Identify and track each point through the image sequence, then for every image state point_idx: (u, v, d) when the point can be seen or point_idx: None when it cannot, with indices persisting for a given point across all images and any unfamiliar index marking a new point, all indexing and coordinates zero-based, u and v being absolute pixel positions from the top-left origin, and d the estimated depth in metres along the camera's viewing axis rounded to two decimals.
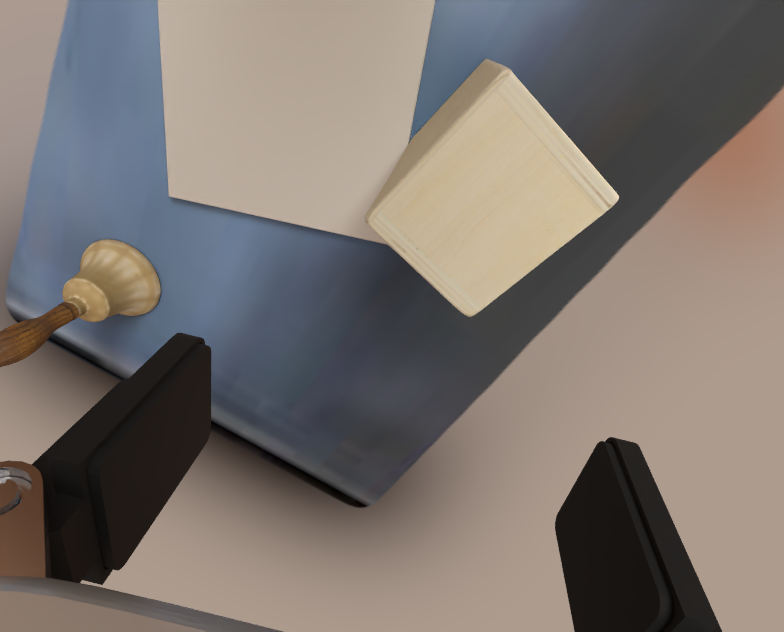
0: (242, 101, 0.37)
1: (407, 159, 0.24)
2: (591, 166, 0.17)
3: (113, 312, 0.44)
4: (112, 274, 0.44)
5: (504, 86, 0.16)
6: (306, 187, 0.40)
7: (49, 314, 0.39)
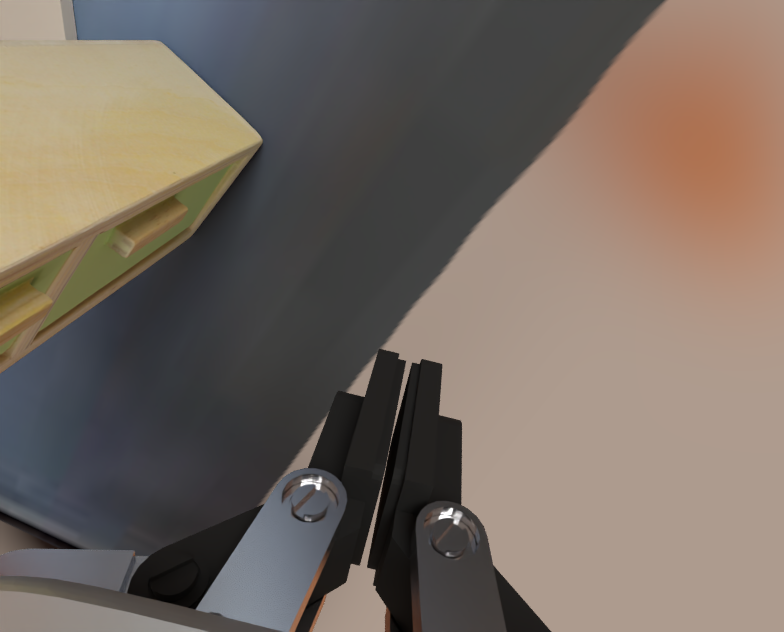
0: None
1: None
2: None
3: None
4: None
5: None
6: None
7: None
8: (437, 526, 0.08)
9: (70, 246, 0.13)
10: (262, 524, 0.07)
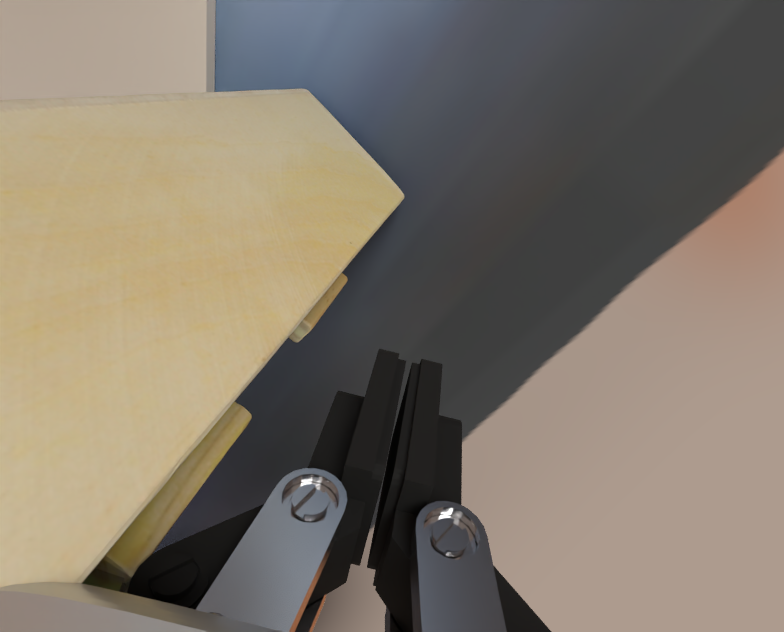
0: None
1: None
2: None
3: None
4: None
5: None
6: None
7: None
8: (437, 526, 0.08)
9: None
10: (262, 524, 0.07)
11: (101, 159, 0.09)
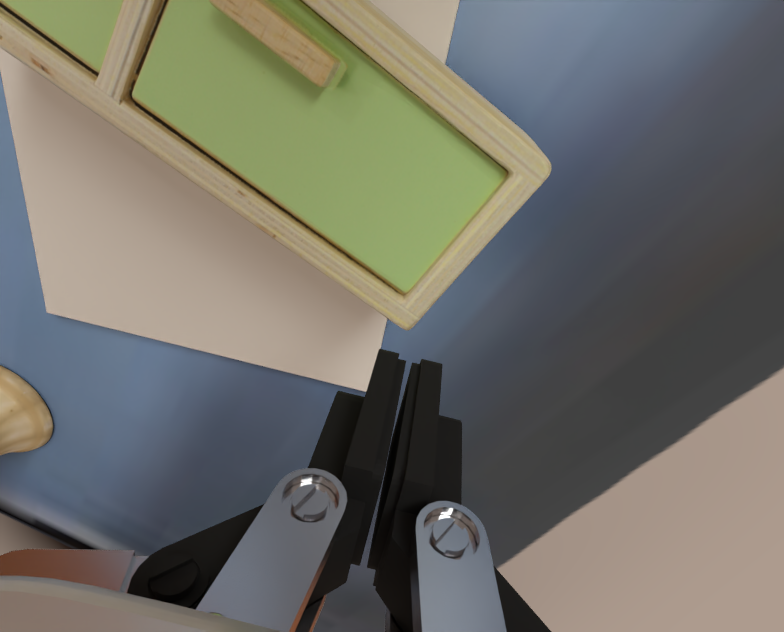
0: (142, 190, 0.24)
1: None
2: None
3: None
4: None
5: None
6: (246, 313, 0.26)
7: None
8: (437, 526, 0.08)
9: None
10: (262, 524, 0.07)
11: None
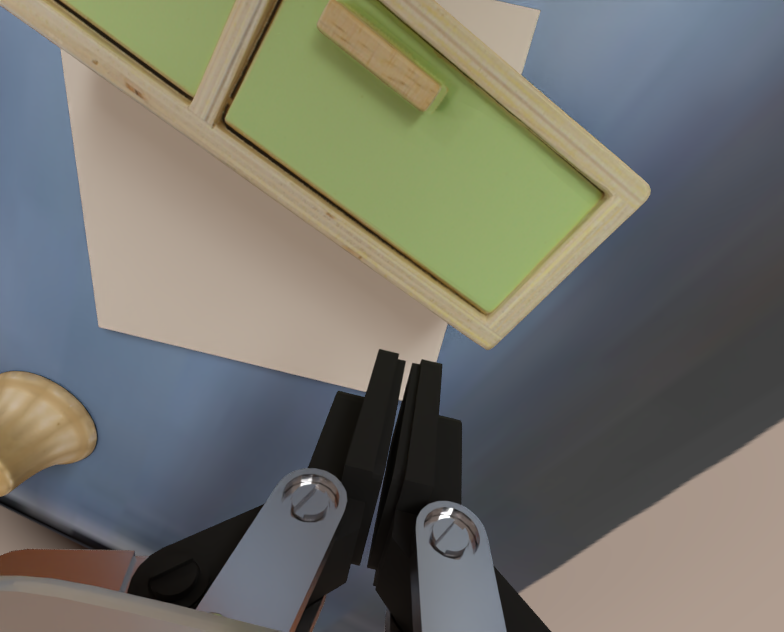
0: (202, 206, 0.24)
1: None
2: None
3: (22, 481, 0.31)
4: (20, 430, 0.30)
5: None
6: (302, 327, 0.26)
7: None
8: (437, 526, 0.08)
9: None
10: (262, 524, 0.07)
11: None
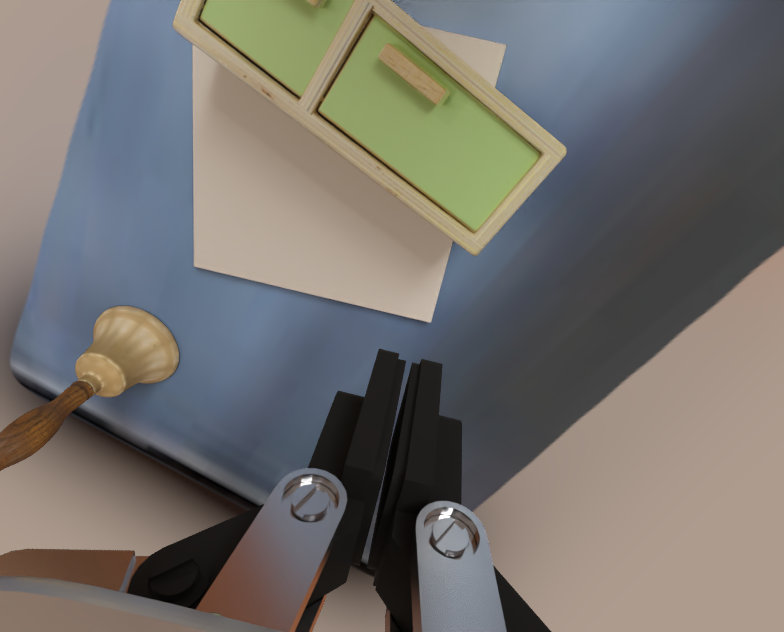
0: (279, 174, 0.34)
1: None
2: None
3: (129, 386, 0.41)
4: (129, 346, 0.41)
5: None
6: (344, 263, 0.37)
7: (62, 397, 0.36)
8: (437, 526, 0.08)
9: None
10: (262, 524, 0.07)
11: None
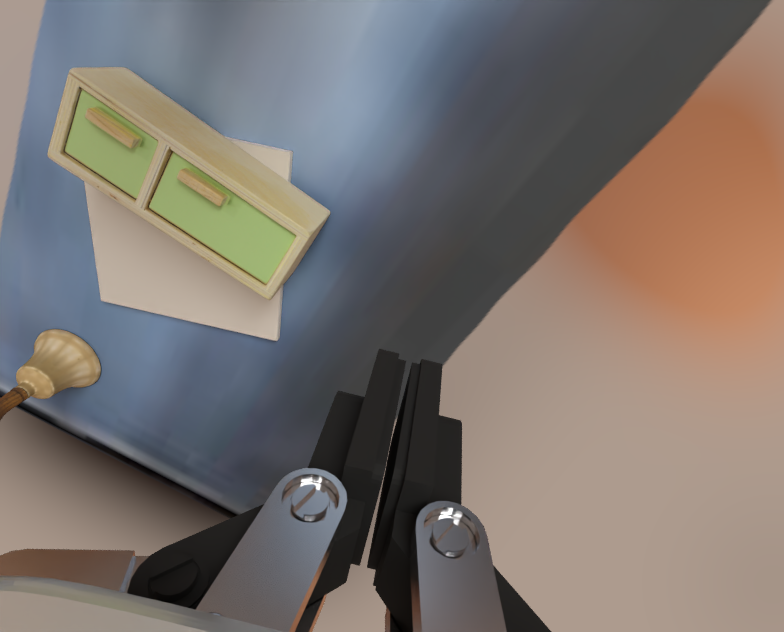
0: (152, 236, 0.47)
1: None
2: None
3: (58, 390, 0.55)
4: (57, 360, 0.54)
5: None
6: (208, 298, 0.50)
7: (2, 400, 0.49)
8: (437, 526, 0.08)
9: (153, 133, 0.36)
10: (262, 524, 0.07)
11: (188, 119, 0.40)
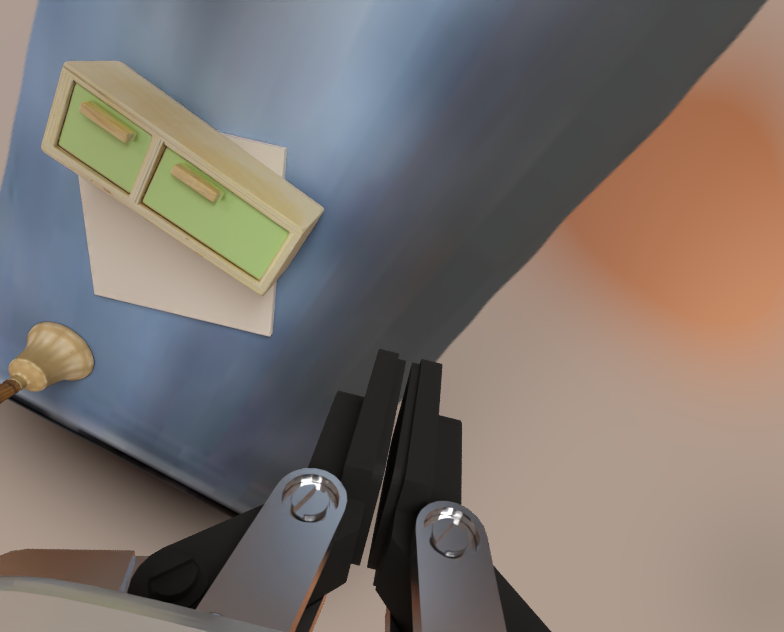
0: (146, 230, 0.47)
1: None
2: (80, 61, 0.36)
3: (51, 383, 0.55)
4: (50, 353, 0.54)
5: None
6: (201, 293, 0.50)
7: None
8: (437, 526, 0.08)
9: (147, 128, 0.36)
10: (262, 524, 0.07)
11: (183, 114, 0.40)
